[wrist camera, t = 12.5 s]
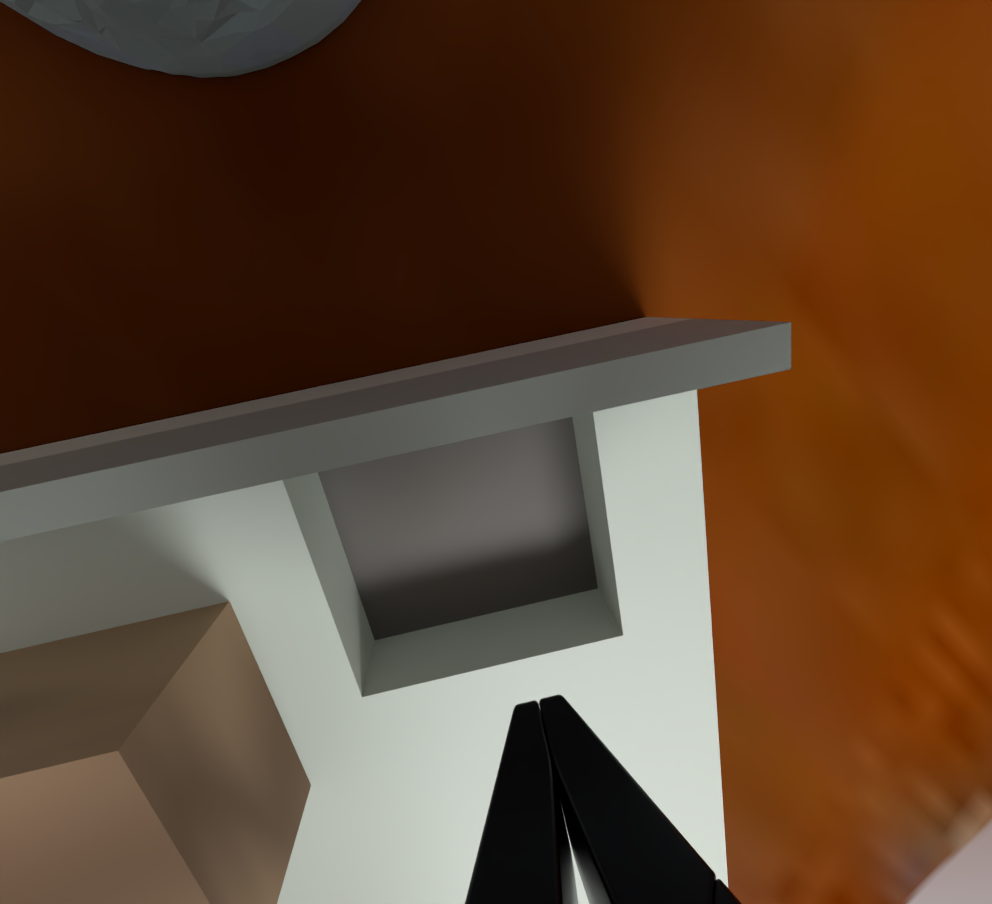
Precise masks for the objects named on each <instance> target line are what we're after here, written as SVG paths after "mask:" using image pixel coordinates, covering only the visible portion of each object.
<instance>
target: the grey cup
mask: <svg viewBox="0 0 992 904" xmlns="http://www.w3.org/2000/svg"><path fill="white" fill-rule="evenodd" d="M0 2H2V3H3V4H5V5H7V6H8V7H10V8H12V9H13V10H15V11H16V12H18V13H20V14H21V15H23V16H25V17H26V18H28V19H30V20H31V21H33V22H35V23H36V24H38V25H40V26H41V27H43V28H45V29H46V30H48V31H50V32H51V33H53V34H55V35H56V36H59V37H61V38H63V39H65V40H67V41H69V42H72V43H74V44H76V45H78V46H80V47H82V48H84V49H87V50H89V51H91V52H93V53H95V54H97V55H101V56H104V57H107V58H110V59H113V60H116V61H120V62H123V63H126V64H129V65H132V66H136V67H139V68H143V69H146V70H150V69H152V70H157V71H162V72H165V73H168V74H171V75H188V76H193V77H198V78H208V77H228V76H238V75H242V74H245V73H249V72H253V71H257V70H261V69H265V68H268V67H270V66H273V65H275V64H277V63H280V62H282V61H284V60H286V59H289V58H291V57H293V56H295V55H297V54H298V53H300V52H302V51H304V50H306V49H308V48H309V47H311V46H313V45H315V44H317V43H318V42H320V41H321V40H322V39H323V38H325V37H326V36H327V35H328V34H329V33H331V32H332V31H333V30H334V29H335V28H337V27H338V26H339V25H340V24H342V23H343V22H344V21H345V20H346V18H347V17H348V16H349V15H350V14H351V12H352V11H353V10H354V9H355V8H356V6H357V5H358V4H359V3H360V2H361V0H0Z"/></svg>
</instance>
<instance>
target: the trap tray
mask: <svg viewBox="0 0 992 904" xmlns="http://www.w3.org/2000/svg"><path fill="white" fill-rule="evenodd" d="M788 369H791V322H771V321H743V320H716V319H688V318H660V317H644V318H639V319H635V320H630V321H625V322H621V323H616V324H611V325H606V326H602V327H597V328H592V329H588V330H583V331H578V332H573V333H569V334H564V335H559V336H554V337H550V338H545V339H540V340H536V341H531V342H526V343H521V344H517V345H512V346H507V347H503V348H498V349H493V350H488V351H484V352H479V353H474V354H470V355H465V356H460V357H455V358H451V359H446V360H441V361H436V362H432V363H427V364H422V365H418V366H413V367H408V368H403V369H399V370H394V371H389V372H385V373H380V374H375V375H370V376H366V377H361V378H356V379H352V380H347V381H342V382H337V383H333V384H328V385H323V386H319V387H314V388H309V389H304V390H300V391H295V392H290V393H285V394H281V395H276V396H271V397H267V398H262V399H257V400H252V401H248V402H243V403H238V404H234V405H229V406H224V407H219V408H215V409H210V410H205V411H201V412H196V413H191V414H186V415H182V416H177V417H172V418H168V419H163V420H158V421H153V422H149V423H144V424H139V425H134V426H130V427H125V428H120V429H116V430H111V431H106V432H101V433H97V434H92V435H87V436H83V437H78V438H73V439H68V440H64V441H59V442H54V443H50V444H45V445H40V446H35V447H31V448H26V449H21V450H16V451H12V452H7V453H2V454H0V653H3V652H8V651H12V650H17V649H21V648H25V647H30V646H34V645H39V644H43V643H48V642H52V641H56V640H61V639H65V638H70V637H74V636H78V635H83V634H87V633H92V632H96V631H100V630H105V629H109V628H114V627H118V626H123V625H127V624H131V623H136V622H140V621H145V620H149V619H153V618H158V617H162V616H167V615H171V614H175V613H180V612H184V611H189V610H193V609H198V608H202V607H206V606H211V605H215V604H220V603H224V602H228V601H230V603H231V605H232V608H233V610H234V612H235V614H236V617H237V619H238V621H239V623H240V626H241V628H242V630H243V632H244V635H245V637H246V639H247V641H248V644H249V646H250V648H251V650H252V653H253V655H254V657H255V659H256V662H257V664H258V666H259V669H260V671H261V673H262V675H263V678H264V680H265V682H266V684H267V687H268V689H269V691H270V693H271V696H272V698H273V700H274V702H275V705H276V707H277V709H278V711H279V714H280V716H281V718H282V720H283V723H284V725H285V727H286V729H287V732H288V734H289V736H290V738H291V741H292V743H293V745H294V747H295V750H296V752H297V754H298V757H299V759H300V761H301V763H302V766H303V768H304V770H305V772H306V775H307V777H308V779H309V781H310V784H311V787H310V791H309V794H308V798H307V801H306V805H305V808H304V812H303V815H302V819H301V822H300V825H299V829H298V832H297V836H296V839H295V843H294V846H293V850H292V853H291V857H290V860H289V864H288V867H287V871H286V874H285V878H284V881H283V885H282V888H281V892H280V895H279V898H278V902H277V904H465V901H466V897H467V893H468V889H469V885H470V881H471V877H472V873H473V869H474V865H475V861H476V857H477V853H478V849H479V845H480V841H481V837H482V833H483V829H484V825H485V821H486V817H487V813H488V809H489V805H490V801H491V797H492V793H493V789H494V785H495V781H496V777H497V773H498V769H499V765H500V761H501V757H502V753H503V749H504V745H505V741H506V737H507V733H508V729H509V725H510V721H511V717H512V713H513V709H514V707H515V706H516V705H517V704H521V703H525V702H529V701H533V700H535V701H537V702H538V704H539V701H540V699H542V698H546V697H550V696H554V695H562V696H563V697H564V698H565V699H566V700H567V701H568V702H569V703H570V705H571V706H572V707H573V708H574V709H575V710H576V712H577V713H578V714H579V715H580V716H581V717H582V719H583V720H584V721H585V722H586V723H587V724H588V726H589V727H590V728H591V729H592V730H593V731H594V733H595V734H596V735H597V736H598V737H599V738H600V740H601V741H602V742H603V743H604V744H605V745H606V747H607V748H608V749H609V750H610V751H611V752H612V754H613V755H614V756H615V757H616V758H617V759H618V761H619V762H620V763H621V764H622V765H623V766H624V768H625V769H626V770H627V771H628V772H629V773H630V775H631V776H632V777H633V778H634V779H635V780H636V782H637V783H638V784H639V785H640V786H641V787H642V789H643V790H644V791H645V792H646V793H647V794H648V796H649V797H650V798H651V799H652V800H653V801H654V803H655V804H656V805H657V806H658V807H659V808H660V810H661V811H662V812H663V813H664V814H665V815H666V817H667V818H668V819H669V820H670V821H671V822H672V824H673V825H674V826H675V827H676V828H677V829H678V831H679V832H680V833H681V834H682V835H683V836H684V838H685V839H686V840H687V841H688V842H689V843H690V845H691V846H692V847H693V848H694V849H695V850H696V852H697V853H698V854H699V855H700V856H701V857H702V859H703V860H704V861H705V862H706V863H707V864H708V866H709V867H710V868H711V869H712V870H713V871H714V873H715V875H716V879H720V880H722V881H723V883H724V884H725V885H726V886H727V887H728V878H727V863H726V847H725V831H724V815H723V799H722V783H721V767H720V751H719V736H718V720H717V704H716V688H715V672H714V656H713V640H712V625H711V609H710V593H709V577H708V561H707V545H706V529H705V513H704V498H703V482H702V466H701V450H700V434H699V418H698V402H697V389H701V388H706V387H710V386H715V385H719V384H724V383H729V382H733V381H738V380H742V379H747V378H751V377H756V376H761V375H765V374H770V373H774V372H779V371H783V370H788ZM539 707H540V706H539ZM562 810H563V809H562ZM564 819H565V818H564ZM565 824H566V823H565ZM566 828H567V827H566ZM567 833H568V831H567ZM568 838H569V836H568ZM569 843H570V840H569ZM570 848H571V853H572V860H573V866H574V873H575V881H576V889H577V897H578V904H589V901H588V898H587V895H586V892H585V889H584V886H583V883H582V880H581V877H580V874H579V871H578V868H577V864H576V861H575V858H574V855H573V851H572V847H571V843H570Z"/></svg>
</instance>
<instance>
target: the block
mask: <svg viewBox="0 0 992 904" xmlns="http://www.w3.org/2000/svg"><path fill="white" fill-rule="evenodd" d="M310 787H311V784H310V781H309V779H308V777H307V775H306V772H305V770H304V768H303V766H302V763H301V761H300V759H299V757H298V754H297V752H296V750H295V747H294V745H293V743H292V741H291V738H290V736H289V734H288V732H287V729H286V727H285V725H284V723H283V720H282V718H281V716H280V714H279V711H278V709H277V707H276V705H275V702H274V700H273V698H272V696H271V693H270V691H269V689H268V687H267V684H266V682H265V680H264V678H263V675H262V673H261V671H260V669H259V666H258V664H257V662H256V659H255V657H254V655H253V653H252V650H251V648H250V646H249V644H248V641H247V639H246V637H245V635H244V632H243V630H242V628H241V626H240V623H239V621H238V619H237V617H236V614H235V612H234V610H233V608H232V605H231V603H230V601H228V602H224V603H220V604H215V605H211V606H206V607H202V608H198V609H193V610H189V611H184V612H180V613H175V614H171V615H167V616H162V617H158V618H153V619H149V620H145V621H140V622H136V623H131V624H127V625H123V626H118V627H114V628H109V629H105V630H100V631H96V632H92V633H87V634H83V635H78V636H74V637H70V638H65V639H61V640H56V641H52V642H48V643H43V644H39V645H34V646H30V647H25V648H21V649H17V650H12V651H8V652H3V653H0V904H277V902H278V898H279V895H280V892H281V888H282V885H283V881H284V878H285V874H286V871H287V867H288V864H289V860H290V857H291V853H292V850H293V846H294V843H295V839H296V836H297V832H298V829H299V825H300V822H301V819H302V815H303V812H304V808H305V805H306V801H307V798H308V794H309V791H310Z"/></svg>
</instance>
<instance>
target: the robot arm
mask: <svg viewBox="0 0 992 904" xmlns="http://www.w3.org/2000/svg"><path fill="white" fill-rule="evenodd" d="M539 706H540V707H539ZM562 809H563V810H562ZM564 818H565V819H564ZM565 823H566V824H565ZM566 827H567V828H566ZM567 831H568V833H567ZM568 836H569V838H568ZM569 840H570V843H571V847H572V851H573V855H574V858H575V861H576V864H577V868H578V871H579V874H580V877H581V880H582V883H583V886H584V889H585V892H586V895H587V898H588V901H589V904H741V902H740V901H739V900H738V899H737V898H736V897H735V895H734V894H733V893H732V892H731V891H730V890H729V888H728V887H727V886H726V885H725V884H724V883H723V881H722V880H720V879H716V875H715V873H714V871H713V870H712V869H711V868H710V867H709V866H708V864H707V863H706V862H705V861H704V860H703V859H702V857H701V856H700V855H699V854H698V853H697V852H696V850H695V849H694V848H693V847H692V846H691V845H690V843H689V842H688V841H687V840H686V839H685V838H684V836H683V835H682V834H681V833H680V832H679V831H678V829H677V828H676V827H675V826H674V825H673V824H672V822H671V821H670V820H669V819H668V818H667V817H666V815H665V814H664V813H663V812H662V811H661V810H660V808H659V807H658V806H657V805H656V804H655V803H654V801H653V800H652V799H651V798H650V797H649V796H648V794H647V793H646V792H645V791H644V790H643V789H642V787H641V786H640V785H639V784H638V783H637V782H636V780H635V779H634V778H633V777H632V776H631V775H630V773H629V772H628V771H627V770H626V769H625V768H624V766H623V765H622V764H621V763H620V762H619V761H618V759H617V758H616V757H615V756H614V755H613V754H612V752H611V751H610V750H609V749H608V748H607V747H606V745H605V744H604V743H603V742H602V741H601V740H600V738H599V737H598V736H597V735H596V734H595V733H594V731H593V730H592V729H591V728H590V727H589V726H588V724H587V723H586V722H585V721H584V720H583V719H582V717H581V716H580V715H579V714H578V713H577V712H576V710H575V709H574V708H573V707H572V706H571V705H570V703H569V702H568V701H567V700H566V699H565V698H564V697H563V696H562V695H554V696H550V697H546V698H542V699H540V701H539V704H538V702H537V701H535V700H533V701H529V702H525V703H521V704H517V705H516V706H515V707H514V709H513V713H512V717H511V721H510V725H509V729H508V733H507V737H506V741H505V745H504V749H503V753H502V757H501V761H500V765H499V769H498V773H497V777H496V781H495V785H494V789H493V793H492V797H491V801H490V805H489V809H488V813H487V817H486V821H485V825H484V829H483V833H482V837H481V841H480V845H479V849H478V853H477V857H476V861H475V865H474V869H473V873H472V877H471V881H470V885H469V889H468V893H467V897H466V901H465V904H578V897H577V889H576V881H575V873H574V866H573V860H572V853H571V848H570V843H569Z"/></svg>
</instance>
